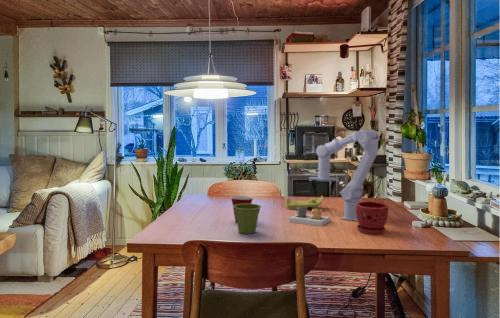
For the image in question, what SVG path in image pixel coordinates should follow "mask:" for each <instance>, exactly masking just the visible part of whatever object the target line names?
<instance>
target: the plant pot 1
mask: <svg viewBox="0 0 500 318" xmlns="http://www.w3.org/2000/svg"><path fill="white" fill-rule="evenodd" d="M233 207H234V208H235V213H236V217H237V231H238V233H240V234H244V235H245V234H246V235H251V234H255V233H256V232H257V231H256V230H257V225H258V221H259V214H260V210H261V208H262V206H261V205H260V204H256V203H251V204H236V205H234V206H233V205H232V208H233Z"/></svg>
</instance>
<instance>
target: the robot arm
mask: <svg viewBox="0 0 500 318" xmlns="http://www.w3.org/2000/svg"><path fill="white" fill-rule="evenodd" d="M379 140H380V137H379V134H378V132H377V131H376V130H375V129H360V130H358V131H354V132H353V133H350V134H349V135H347V136H345V137H343V138H342V139H338V138H333V139H332V141H330V142H326V143H324V145H322V144H320V145H319V146H317V147H316V151H315V152H316V153H315V154H316V155H317V157H318V163H317V165H318V167H317V173H318V176H309V177H308V178H309V182H311V186H312V187H313V191H314V195H315V196H317V195H318V192H317V191H318V189H317V188H318V187H317V186H318V182H330V197H333V191H334V189H335V186H336V184H337V183H338V182H339V177H330V174H331V173H330V171H331V170H330V169H331V167H330V166H331V156H332V154H335V153H337V152H339V151H342V149H343V148H344V146H347V145H349V144H352V143H354V142H358V144H360V146H361V147H362V148H363V151H364V152H363V155H362V157H361V160H360V161H359V163H358V166H357V168H356V170H355V172H354V174H353V176H352V178H351V180H350V181H349V182H348V183H347V184H346V186H345V187H344V188H343V189H341V192H340V193H341V197H342V199H343V216H341V218H340V219H341V220H347V221H356V222H358V221H357V216H356V204H357V203H359V202H362V201H361V197H362V196H363V191H364V185H363V184H364V182H365V180H366V177H367V175H368V173H369V171H370V170H371V168H372V166H373V163H374V161H375V159H376V157H377V155H378V152H379ZM363 215H365V214H363Z"/></svg>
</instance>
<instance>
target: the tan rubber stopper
mask: <svg viewBox="0 0 500 318" xmlns="http://www.w3.org/2000/svg"><path fill="white" fill-rule="evenodd" d="M311 212H312V215H313V219H317V220H321V216H322V213H323V209H322V208H318V209H312V208H311Z"/></svg>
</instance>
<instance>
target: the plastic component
mask: <svg viewBox="0 0 500 318" xmlns="http://www.w3.org/2000/svg"><path fill="white" fill-rule="evenodd" d="M323 198H324V196H323V195H321V196H320V197H311V198H310V199H308V200H290V198H289V196H286V200H285V208H286V209H288V210H297V208H298V207H305V208H307V209H309V208H311V210H312V209H319V206H320V205H321V204H322V202H323Z"/></svg>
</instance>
